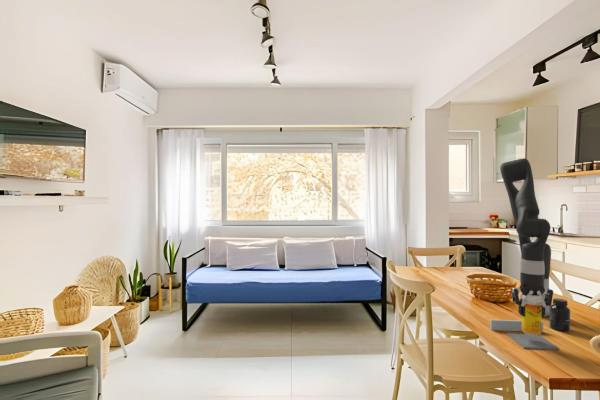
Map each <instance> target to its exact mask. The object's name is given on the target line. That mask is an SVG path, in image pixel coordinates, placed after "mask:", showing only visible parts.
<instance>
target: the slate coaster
mask: <svg viewBox="0 0 600 400" xmlns="http://www.w3.org/2000/svg"><path fill="white" fill-rule="evenodd" d="M506 336H508V337H509V338H510V339H511V340H513V341H514V342H515V343H516V344H518V345H519V346H520V347H521V348H523V349H525V350H526V349H528V350H547V351H548V350H549V351H560V347H558V346H557V345H555V344H553V342H551V341H549V340H548V339H547V338H545V337H544V336H542V335H541V334H540V335H539V336H531V335H527V334H525V333H508V332H507V333H506Z"/></svg>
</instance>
